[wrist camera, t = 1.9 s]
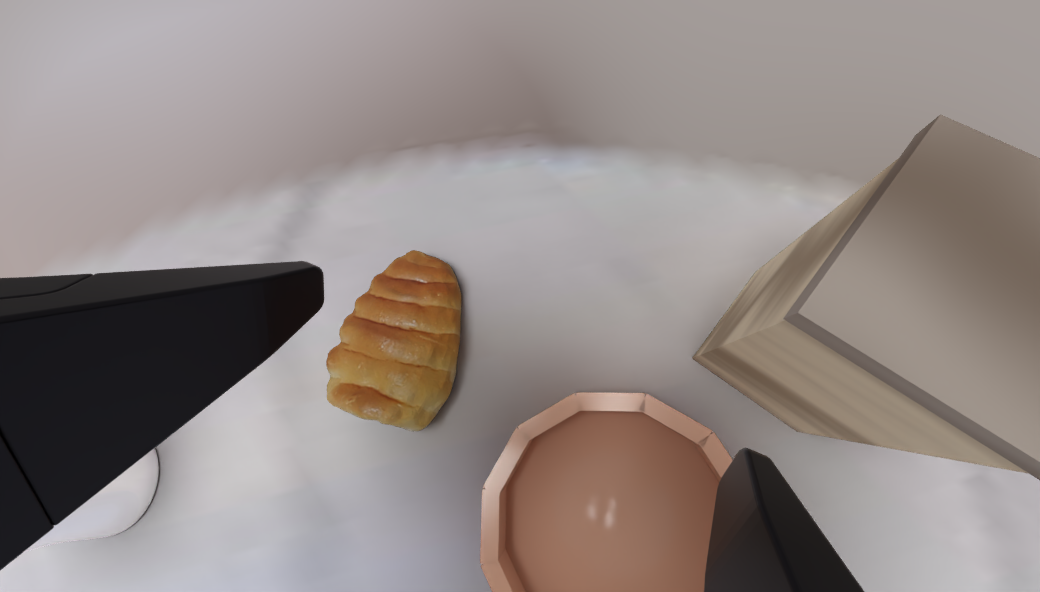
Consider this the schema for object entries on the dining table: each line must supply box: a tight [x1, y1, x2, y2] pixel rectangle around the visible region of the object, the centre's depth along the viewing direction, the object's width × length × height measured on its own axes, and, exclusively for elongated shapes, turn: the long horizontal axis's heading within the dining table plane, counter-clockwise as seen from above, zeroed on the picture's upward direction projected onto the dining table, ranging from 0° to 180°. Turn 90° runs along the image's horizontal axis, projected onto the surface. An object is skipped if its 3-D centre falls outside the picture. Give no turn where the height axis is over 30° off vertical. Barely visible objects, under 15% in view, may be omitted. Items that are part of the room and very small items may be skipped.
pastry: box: [326, 250, 461, 432], centre depth 23 cm, size 9×7×4 cm
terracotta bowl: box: [480, 392, 733, 592], centre depth 19 cm, size 12×12×2 cm
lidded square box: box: [693, 115, 1040, 480], centre depth 15 cm, size 6×6×12 cm
